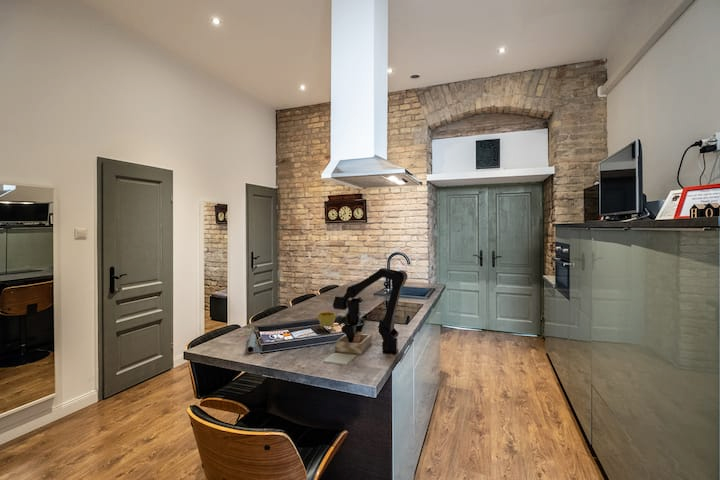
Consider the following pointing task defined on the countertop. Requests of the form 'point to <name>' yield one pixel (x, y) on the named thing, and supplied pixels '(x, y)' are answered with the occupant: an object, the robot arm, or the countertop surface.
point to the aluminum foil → (252, 344)
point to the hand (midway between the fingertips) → (354, 342)
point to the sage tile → (340, 358)
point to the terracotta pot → (356, 337)
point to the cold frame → (353, 344)
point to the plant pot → (326, 318)
